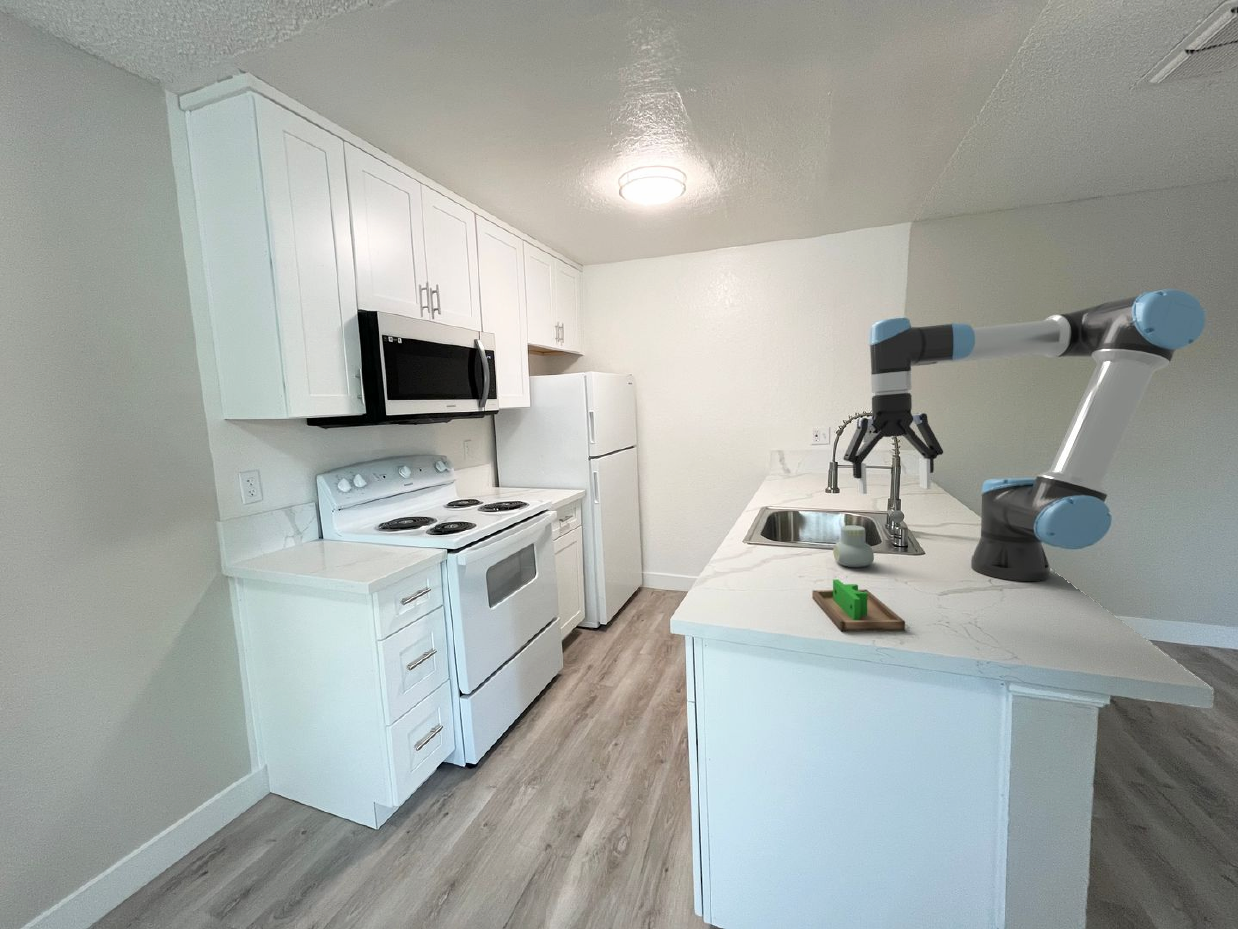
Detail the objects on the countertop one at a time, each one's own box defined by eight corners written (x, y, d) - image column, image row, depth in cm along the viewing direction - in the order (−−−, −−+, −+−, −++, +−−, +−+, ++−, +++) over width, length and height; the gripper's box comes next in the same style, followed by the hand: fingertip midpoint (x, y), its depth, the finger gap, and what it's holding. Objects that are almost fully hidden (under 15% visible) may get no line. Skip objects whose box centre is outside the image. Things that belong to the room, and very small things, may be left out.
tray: (866, 597, 109) (866, 589, 109) (904, 630, 92) (905, 621, 92) (812, 598, 110) (812, 590, 109) (840, 631, 93) (841, 622, 93)
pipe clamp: (874, 621, 96) (874, 599, 95) (854, 622, 96) (854, 599, 95) (850, 599, 107) (850, 578, 106) (832, 599, 107) (832, 579, 106)
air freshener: (831, 558, 138) (831, 522, 136) (863, 558, 136) (864, 523, 135) (841, 570, 127) (841, 532, 126) (875, 571, 125) (876, 533, 124)
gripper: (939, 389, 110) (940, 483, 112) (825, 398, 111) (829, 492, 113) (961, 387, 102) (962, 488, 104) (839, 397, 103) (843, 497, 105)
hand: (893, 490), depth 109 cm, fingers open, 13 cm apart
